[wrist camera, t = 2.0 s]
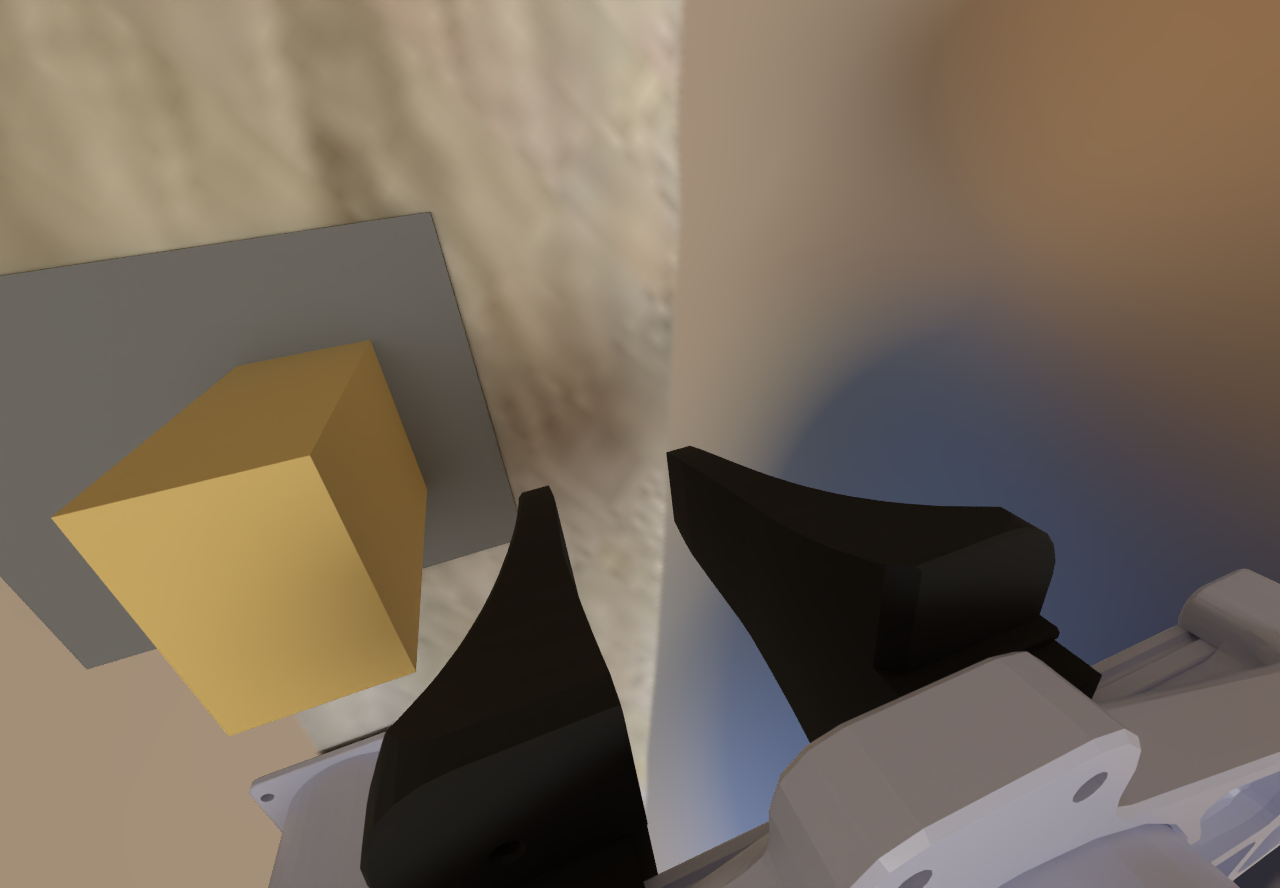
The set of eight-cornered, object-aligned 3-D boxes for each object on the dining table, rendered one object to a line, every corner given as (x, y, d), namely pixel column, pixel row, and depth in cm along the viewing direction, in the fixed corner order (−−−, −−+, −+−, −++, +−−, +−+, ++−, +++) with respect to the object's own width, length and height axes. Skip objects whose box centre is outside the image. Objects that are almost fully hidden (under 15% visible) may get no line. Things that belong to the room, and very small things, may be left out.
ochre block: (427, 489, 20) (415, 671, 12) (315, 519, 19) (228, 736, 11) (370, 339, 17) (310, 455, 10) (236, 366, 16) (50, 517, 9)
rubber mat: (523, 532, 23) (524, 537, 22) (93, 660, 19) (86, 669, 19) (430, 211, 17) (429, 212, 16) (-228, 309, 13) (-245, 312, 13)
